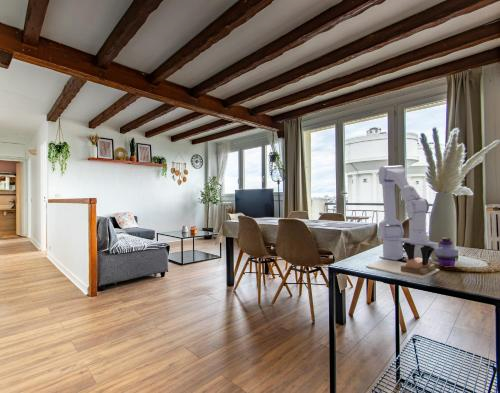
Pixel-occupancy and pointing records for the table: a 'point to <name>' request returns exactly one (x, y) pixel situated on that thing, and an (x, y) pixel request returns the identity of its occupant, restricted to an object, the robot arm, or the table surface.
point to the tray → (418, 271)
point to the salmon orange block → (416, 263)
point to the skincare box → (418, 250)
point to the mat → (397, 268)
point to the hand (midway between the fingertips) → (418, 263)
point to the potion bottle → (446, 253)
